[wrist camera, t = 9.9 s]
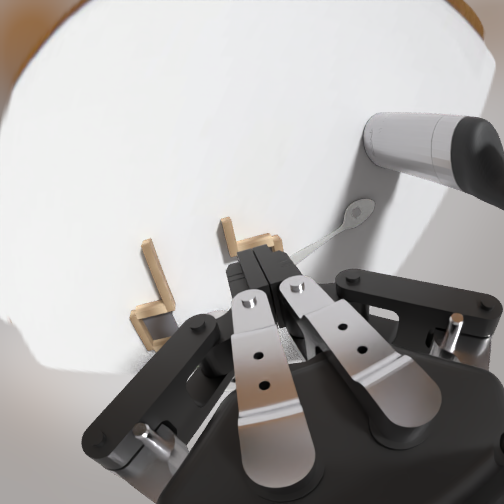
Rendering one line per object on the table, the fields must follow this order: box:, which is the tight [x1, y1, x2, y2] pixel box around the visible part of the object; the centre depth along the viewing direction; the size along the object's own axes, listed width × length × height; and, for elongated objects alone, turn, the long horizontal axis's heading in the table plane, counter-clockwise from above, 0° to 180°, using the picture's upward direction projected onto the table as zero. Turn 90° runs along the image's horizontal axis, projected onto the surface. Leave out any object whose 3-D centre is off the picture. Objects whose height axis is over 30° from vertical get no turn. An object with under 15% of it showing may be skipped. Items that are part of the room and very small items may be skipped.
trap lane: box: [130, 217, 283, 368], centre depth 40 cm, size 25×23×3 cm
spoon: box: [290, 199, 375, 265], centre depth 41 cm, size 4×21×2 cm, turn 125°
